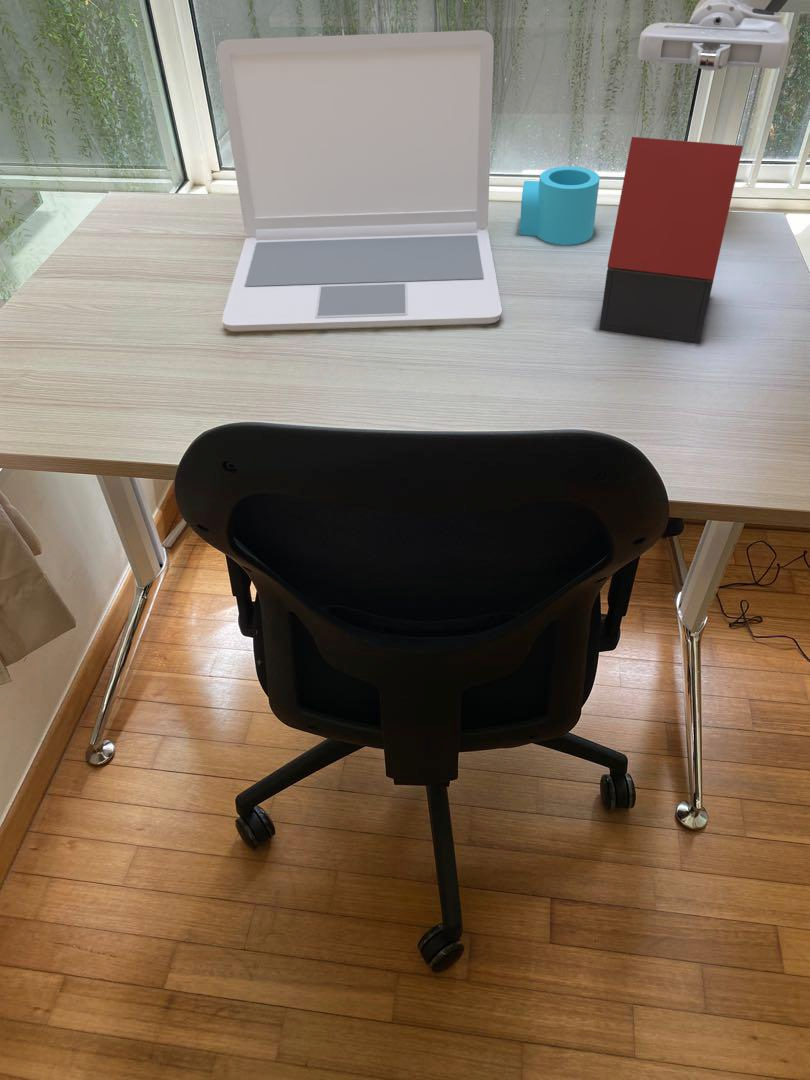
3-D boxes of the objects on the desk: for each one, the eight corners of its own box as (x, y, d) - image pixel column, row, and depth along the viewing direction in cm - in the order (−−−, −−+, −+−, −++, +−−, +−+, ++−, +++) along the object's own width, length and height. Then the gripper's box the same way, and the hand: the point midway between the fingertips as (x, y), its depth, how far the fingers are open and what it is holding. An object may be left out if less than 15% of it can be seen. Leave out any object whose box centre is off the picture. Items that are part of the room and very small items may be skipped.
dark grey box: (615, 285, 132) (623, 228, 126) (708, 297, 128) (721, 239, 122) (599, 329, 122) (607, 270, 116) (699, 343, 119) (712, 283, 113)
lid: (632, 138, 112) (631, 136, 112) (742, 147, 109) (742, 145, 108) (607, 267, 116) (607, 267, 116) (713, 280, 113) (713, 279, 112)
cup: (517, 242, 144) (520, 186, 137) (523, 218, 150) (527, 164, 144) (591, 246, 142) (598, 190, 135) (594, 222, 148) (600, 167, 142)
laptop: (221, 336, 124) (176, 104, 103) (248, 243, 147) (216, 36, 126) (502, 327, 123) (514, 92, 102) (486, 235, 146) (493, 26, 125)
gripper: (647, 7, 129) (633, 30, 120) (794, 13, 124) (791, 39, 114) (641, 54, 133) (627, 81, 124) (782, 62, 128) (779, 91, 119)
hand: (707, 61), depth 119 cm, fingers closed
